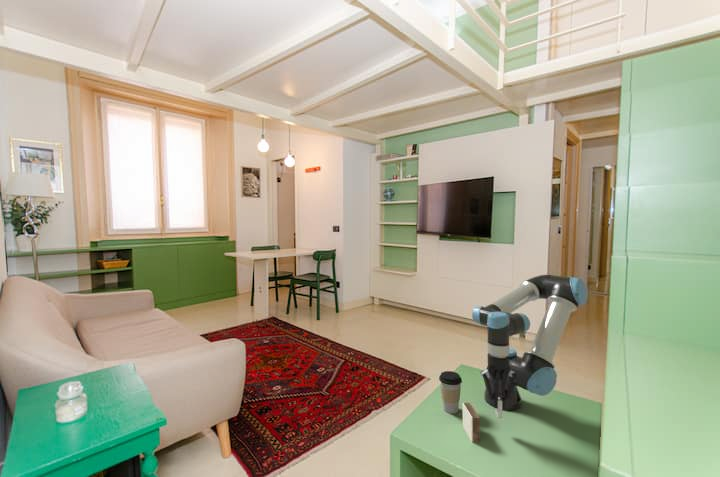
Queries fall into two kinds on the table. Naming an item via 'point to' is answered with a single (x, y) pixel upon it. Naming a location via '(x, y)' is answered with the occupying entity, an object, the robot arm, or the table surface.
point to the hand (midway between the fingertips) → (498, 415)
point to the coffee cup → (450, 390)
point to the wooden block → (471, 422)
